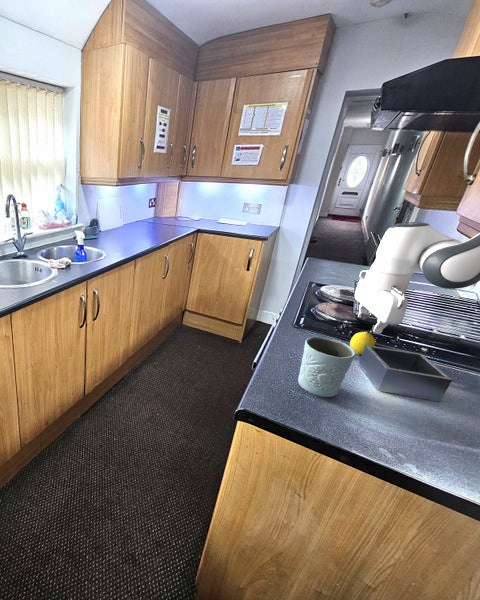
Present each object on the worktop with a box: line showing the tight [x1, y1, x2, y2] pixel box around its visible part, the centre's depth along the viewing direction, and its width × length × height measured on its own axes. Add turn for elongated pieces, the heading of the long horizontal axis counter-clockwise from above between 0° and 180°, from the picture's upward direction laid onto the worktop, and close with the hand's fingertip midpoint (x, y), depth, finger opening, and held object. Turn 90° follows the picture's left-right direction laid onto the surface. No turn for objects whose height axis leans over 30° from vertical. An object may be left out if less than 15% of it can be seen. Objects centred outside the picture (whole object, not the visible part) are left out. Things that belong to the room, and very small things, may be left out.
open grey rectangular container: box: [357, 345, 453, 403], centre depth 86 cm, size 13×13×7 cm
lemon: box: [349, 331, 376, 356], centre depth 98 cm, size 6×6×8 cm
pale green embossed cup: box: [297, 336, 357, 398], centre depth 83 cm, size 10×10×12 cm
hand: (368, 325), depth 96 cm, fingers open, 8 cm apart
